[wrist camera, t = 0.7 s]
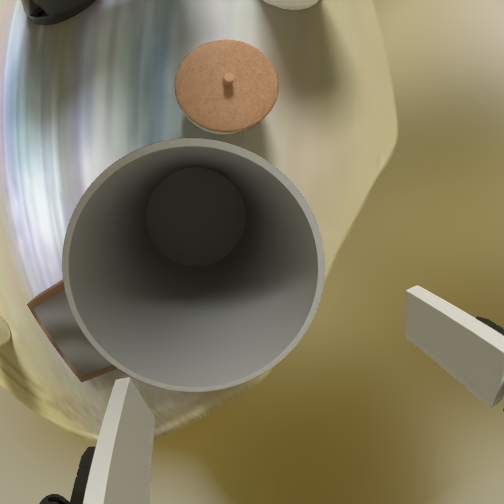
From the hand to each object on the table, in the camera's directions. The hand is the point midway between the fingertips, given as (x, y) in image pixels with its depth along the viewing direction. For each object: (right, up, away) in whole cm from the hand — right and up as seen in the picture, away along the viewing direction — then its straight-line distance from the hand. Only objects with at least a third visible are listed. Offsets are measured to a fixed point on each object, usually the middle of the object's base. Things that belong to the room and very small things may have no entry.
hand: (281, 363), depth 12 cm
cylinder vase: (-8, +9, +25) cm, 28 cm away
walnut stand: (-24, -5, +25) cm, 35 cm away
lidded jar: (-5, +24, +22) cm, 33 cm away
